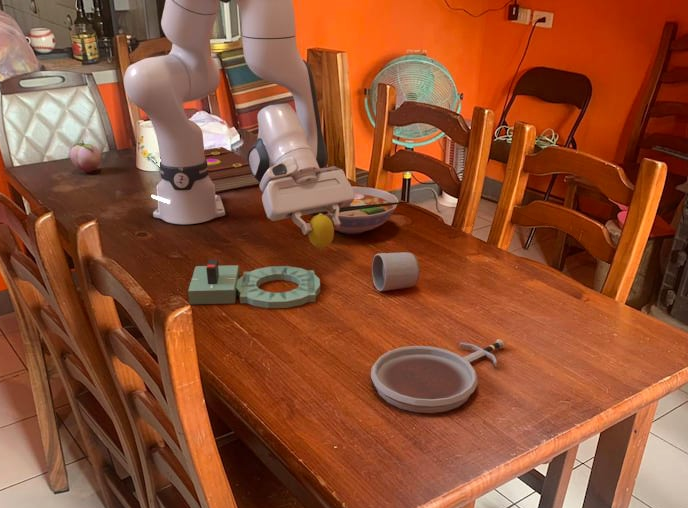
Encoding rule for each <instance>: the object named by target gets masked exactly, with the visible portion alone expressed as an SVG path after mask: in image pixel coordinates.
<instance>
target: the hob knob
mask: <svg viewBox="0 0 688 508" xmlns="http://www.w3.org/2000/svg"><path fill="white" fill-rule="evenodd" d="M206 266H207V268H206V270H207V279H208V284H217V281H218V277H219V269H218V266H219V261H218V259H208V261H207V265H206Z"/></svg>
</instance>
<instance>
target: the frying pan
mask: <svg viewBox="0 0 688 508" xmlns="http://www.w3.org/2000/svg"><path fill="white" fill-rule="evenodd" d="M504 346H505V342H504V341H503V339H499V338H498V339H496V340H495V342H494V343H492V344H489V345H488V346H486V347H484V348H482V347H479V346H477V345H476V344H472V343H467V342H461V341H459V348H465V349H470V350H474V352H472V353H469V354H466V355H465V356H461V355H460V354H457V353H456V352H453V351H451V350H448V349H444V348H440V347H435V346H431V345H430V346H428V345H427V346H426V345H410V346H401V347H398V348H394V349H392V350H389V351H387V352H386V353H383V354H382V355H380V356H379V357H378V359H377V360H376V361H375V362H374V364H373V365H372V367H371V370H370V371H371V372H370V378H371V380H372V383H373V385H374V387H375V389H376V391H377V393H378V395H379V396H380V397H381V398H382V399H383V400H384V401H386V403H388V404H390V405H392V406H394V407H397V408H398V409H400V410H406V411H409V412H413V413H421V414H423V413H424V414H436V413H443V412H444V413H445V412H448V411H451V410H454V409H457V408H459V407H460V406H463V404H464V403H466V402H467V401H468V400H469V398H470V397H471V395H472V394H473V393H474V392H475V390H476V388H477V386H478V383H479V382H478V374H477V372H476V370H475V368H474V367H473V365H472V364H471V362H473V361H475V360H477V359H479V358H482V357H487V358H488V359H491V360H492V362H493V365H494V366H495V367H497V366H498V360H497V358H496V356H495V354H493V353H492V351H495V350H497V349H501V350H502V349H503V348H504Z"/></svg>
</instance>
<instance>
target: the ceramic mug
mask: <svg viewBox="0 0 688 508" xmlns="http://www.w3.org/2000/svg"><path fill="white" fill-rule="evenodd" d="M371 274H372V275H371V276H372V281H373V285H374V286H375V288H376V290H378V291H379V292H387V291H393V290H400V289H409V288H412V287H414V286H416V285H417V284H418V282H419V280H420V277H421V265H420V262H419V259H418V257H417V256H416V255H415V254H414V253H413V252H405V251H404V252H403V251H402V252H401V251H400V252H380V253H379V252H378V253H376V254H375V255H374V257H373V259H372V262H371Z"/></svg>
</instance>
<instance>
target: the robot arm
mask: <svg viewBox="0 0 688 508" xmlns="http://www.w3.org/2000/svg"><path fill="white" fill-rule="evenodd" d="M231 1H232V0H165V1H164V7H163V12H162V16H161V20H160V25H161V29H162V32H163V33H164V35H165V37H166V38H167V40H168V41H169V42H170V43H171V44H172V45H171V49H170V52H169V53H168V54H165V55H157V56H153V57H145V58H143V59H141V60H139V61H135V62H134V63H132V64H129V66H127V68H126V70H125V72H124V76H123V86H124V91H125V93H126V95H127V97H128V99H129V101H130V102H132V104H133V105H135V106H136V107H137V108H139V109H140V110H141V111H142V112H144V114H145V115H146V116H147V117H148V119H149V121H150V122H151V124H152V126H153V129H154V132H155V135H156V139H157V145H158V151H159V152H158V153H159V157H160V159H161V162H160V167H159V166H157V167H158V169H159V173H160V178H161V180H160V181H159V182H158V184H157V185H156V195H155V194H151V198H152V199H154V200H157V208H156V209H155V210H154V211H153V212H152V216H153V218H156V219H161V220H162V221H164V222H166V223H169V224H174V225H194V224H200V223H205V222H209V221H211V220H214V219H216V218H220V217H224V216H226V210H225V207H224V203H223V201H222V198H221V196H220V195H218V194H216V193H215V186H214V184H213V183H212V180H211V179H210V177H209V176H208V174H209V172H208V164H207V160H206V159H205V153H204V150H205V144H204V133H203V131H202V128H201V127H200V126H199V125H198V124H197V123H196V122H195V121H193V120H190V119H189V117H188V115H187V114H186V111H185V107H184V104H186V103H190V102H191V103H192V102H195V101H200V100H203V99H205V98H206V97H208V96H210V95H213V94H214V93H215V92H216V91H217V90H218V89H219V86H220V82H221V72H220V68H219V65H218V63H217V61H216V60H215V59H214V58H213V57H212V54H211V40H212V35H213V30H214V26H215V23H216V19H217V14H218V10H219V7H220V4H221V3H220V2H222V3H224V4H228V3H229V2H231ZM233 1H234V2H235V3H236V5H237V6H238V8H239V11H240V17H241V36H242V39H241V41H242V51H243V57H244V61H245V64H246V66H247V67H248V68H249V69H250V71H251V72H252V73H253V74H254V75H255V76H257V77H258V78H260V79H262V80H263V81H266V82H268V83H271V84H273V85H277V86H280V87H282V88H285V89H287V90H288V91H289V92H290V94H291V96H292V97H293V101H294V107H295V109H294V108H293V106H292V105H291V104H289V103H287V102H276V103H270V104H267V105H265V106H264V107H262V108H261V109H260V110H259V111H258V113H257V117H256V118H257V125H258V133H257V139H256V140H255V141H254V143H253V145H251V148H250V149H249V151H248V153H247V160H248V164H249V167H250V170H251V173H252V175H253V176H254V177H255V178H256V179H257V180H258V181H259V182H260V185H259V189H260V191H261V192H262V195H261V201H262V206H263V208H264V212H265V214H266V217H267V219H269V220H270V221H271V222H277V221H282V220H286V219H291V220H292V223H293V224H295V225H296V226H297V227H298V228H299V229H300V230H301V232H302V234H303V235H308V234H310V233H311V232H312V228H311V227H310V226H311V225H310V222H306V221H304V219H303V218H302V216H306V215H307V216H308V215H312V213H317V212H322V211H327V210H329V212H330V214H333V217H332V219H331V221H332V223H333V227H334V228H338V227H339V226H340V221H339V219H338V215H339V208H342V207H347V206H349V205H350V204H351V203H352V202H353V200H354V198H355V193H354V191H353V189H352V187H353V186H352V185H351V183H350V181H349V180H348V178H347V176H346V174H345V171H344V170H343V169H342V168H340V167H337V166H335V165H332V166H331V165H330V166H328V164H329V163H328V162H329V153H328V149H327V145H326V142H325V138H324V134H323V130H322V124H321V123H322V122H321V118H320V117H321V116H320V111H319V105H318V97H317V91H316V86H315V80H314V76H313V73H312V69H311V67H310V64H309V63H308V61H306V60H305V59H303V58H302V57H301V54H300V52H299V48H298V44H297V35H296V32H297V31H296V17H295V7H294V1H293V0H233ZM327 166H328V167H327Z"/></svg>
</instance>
